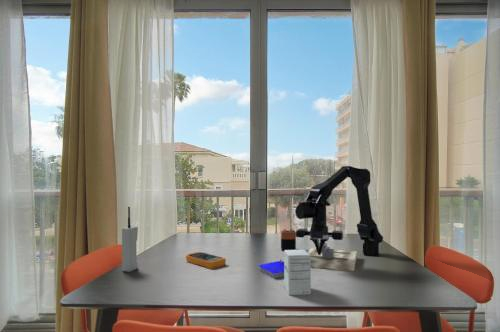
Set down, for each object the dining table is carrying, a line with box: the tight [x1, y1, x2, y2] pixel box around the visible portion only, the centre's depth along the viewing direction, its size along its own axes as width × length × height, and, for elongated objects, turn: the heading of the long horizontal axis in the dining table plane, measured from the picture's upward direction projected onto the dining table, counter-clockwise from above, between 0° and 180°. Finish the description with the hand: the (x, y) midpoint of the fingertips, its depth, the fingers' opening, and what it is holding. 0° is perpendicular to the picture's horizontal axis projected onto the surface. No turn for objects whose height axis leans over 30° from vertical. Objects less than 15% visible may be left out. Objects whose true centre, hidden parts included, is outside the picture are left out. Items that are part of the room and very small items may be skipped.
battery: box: [280, 228, 297, 252], centre depth 167 cm, size 4×7×10 cm, turn 91°
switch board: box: [307, 247, 358, 272], centre depth 146 cm, size 20×20×3 cm
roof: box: [257, 259, 284, 279], centre depth 132 cm, size 12×12×5 cm
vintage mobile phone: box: [121, 206, 139, 273], centre depth 136 cm, size 4×5×25 cm
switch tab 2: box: [322, 246, 335, 259], centre depth 141 cm, size 4×5×4 cm
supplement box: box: [283, 249, 312, 296], centre depth 112 cm, size 7×7×13 cm
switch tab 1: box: [316, 242, 328, 252], centre depth 152 cm, size 4×5×4 cm
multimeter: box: [185, 251, 227, 270], centre depth 145 cm, size 9×18×3 cm, turn 47°
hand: (319, 254), depth 142 cm, fingers closed
